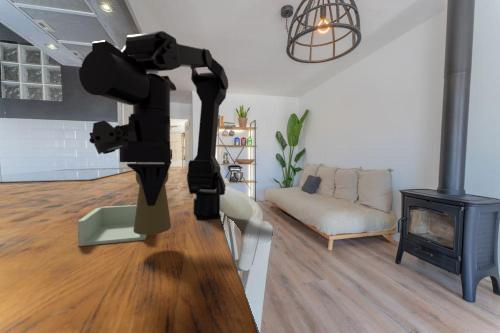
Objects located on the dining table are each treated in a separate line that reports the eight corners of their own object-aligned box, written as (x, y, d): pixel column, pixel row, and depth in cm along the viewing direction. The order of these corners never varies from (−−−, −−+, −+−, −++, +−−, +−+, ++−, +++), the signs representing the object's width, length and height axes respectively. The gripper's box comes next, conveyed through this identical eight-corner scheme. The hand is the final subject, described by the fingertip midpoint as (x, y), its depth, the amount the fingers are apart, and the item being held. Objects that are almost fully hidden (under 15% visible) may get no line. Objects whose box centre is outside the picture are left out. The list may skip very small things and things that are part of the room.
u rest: (151, 222, 54) (150, 204, 53) (145, 239, 43) (145, 216, 43) (98, 226, 50) (98, 207, 50) (78, 246, 40) (77, 221, 39)
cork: (127, 235, 35) (127, 166, 34) (139, 223, 41) (138, 164, 40) (168, 233, 36) (168, 166, 35) (173, 222, 42) (173, 164, 41)
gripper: (112, 116, 43) (113, 194, 44) (69, 91, 26) (72, 222, 27) (172, 120, 47) (172, 192, 48) (170, 100, 29) (170, 215, 30)
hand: (152, 202), depth 38 cm, fingers closed on cork, 4 cm apart
